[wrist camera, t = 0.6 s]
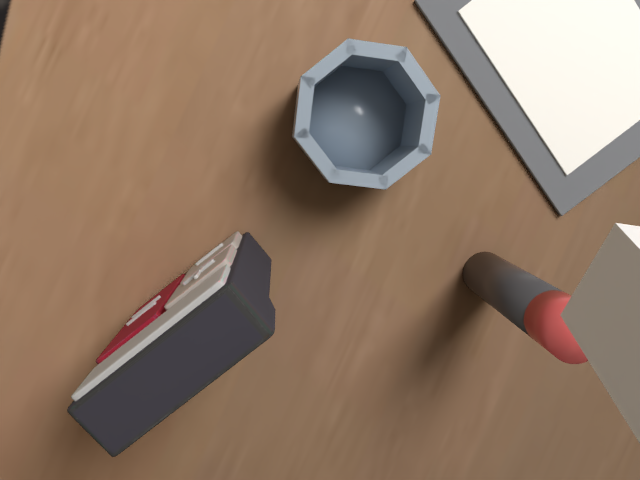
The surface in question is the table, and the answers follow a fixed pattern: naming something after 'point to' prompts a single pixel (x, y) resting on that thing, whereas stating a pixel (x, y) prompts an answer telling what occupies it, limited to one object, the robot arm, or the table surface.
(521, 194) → the table surface
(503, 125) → the writing pad
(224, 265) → the grey and red block
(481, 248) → the table surface
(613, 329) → the robot arm
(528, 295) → the marker
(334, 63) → the pen cup
